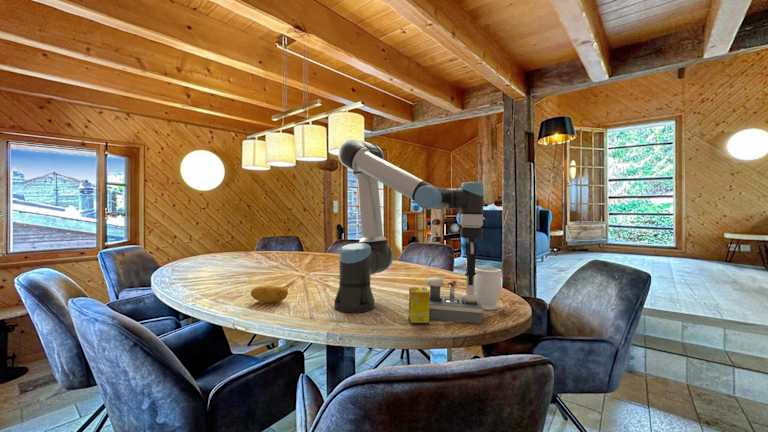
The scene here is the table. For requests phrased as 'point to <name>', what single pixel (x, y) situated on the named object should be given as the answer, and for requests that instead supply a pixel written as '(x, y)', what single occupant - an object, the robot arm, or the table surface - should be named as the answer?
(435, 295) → the knob left
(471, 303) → the knob right
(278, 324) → the table surface
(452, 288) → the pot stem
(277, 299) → the potato
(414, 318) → the supplement box
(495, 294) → the white tapered cup
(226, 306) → the table surface
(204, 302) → the table surface
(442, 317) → the mount
